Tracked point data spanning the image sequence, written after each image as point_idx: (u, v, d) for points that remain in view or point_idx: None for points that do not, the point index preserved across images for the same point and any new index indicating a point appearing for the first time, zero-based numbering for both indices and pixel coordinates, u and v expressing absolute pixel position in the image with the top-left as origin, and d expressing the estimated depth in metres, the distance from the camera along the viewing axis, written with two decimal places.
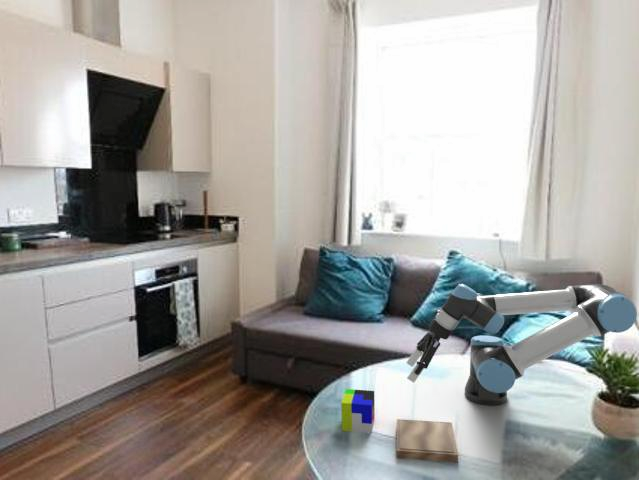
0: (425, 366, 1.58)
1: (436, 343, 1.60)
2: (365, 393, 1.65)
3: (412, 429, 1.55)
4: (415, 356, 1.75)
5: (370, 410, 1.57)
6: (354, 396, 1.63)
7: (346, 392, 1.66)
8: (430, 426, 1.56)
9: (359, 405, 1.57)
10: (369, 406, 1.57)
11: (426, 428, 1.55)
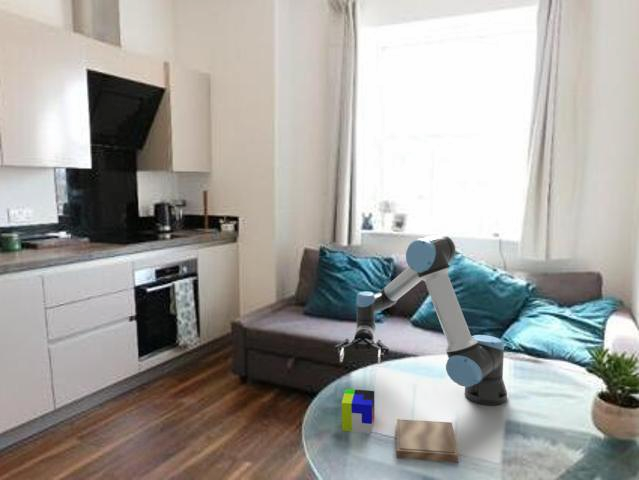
0: None
1: None
2: (365, 393, 1.65)
3: (412, 429, 1.55)
4: None
5: (370, 410, 1.57)
6: (354, 396, 1.63)
7: (346, 392, 1.66)
8: (430, 426, 1.56)
9: (359, 405, 1.57)
10: (369, 406, 1.57)
11: (426, 428, 1.55)
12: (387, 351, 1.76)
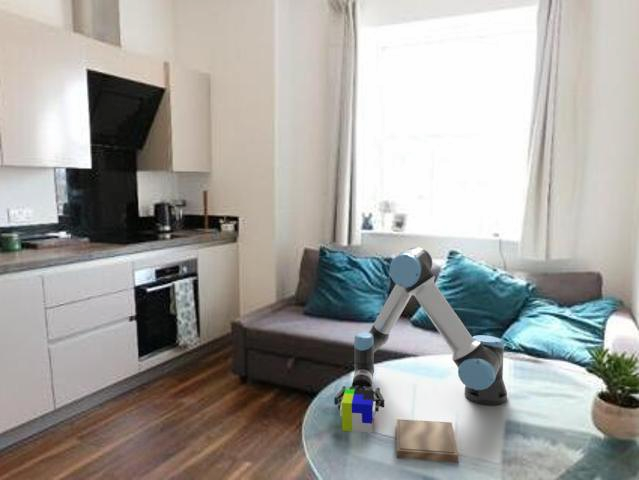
0: None
1: None
2: (365, 393, 1.65)
3: (412, 429, 1.55)
4: None
5: (370, 410, 1.57)
6: (354, 396, 1.63)
7: (346, 391, 1.66)
8: (430, 426, 1.56)
9: (360, 404, 1.57)
10: (369, 406, 1.57)
11: (426, 428, 1.55)
12: (382, 403, 1.65)
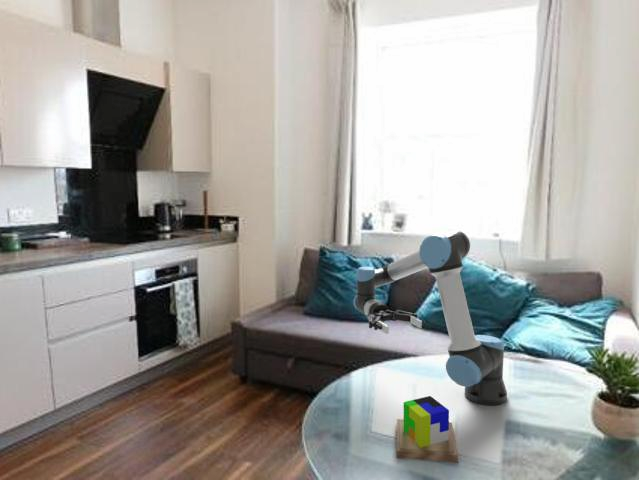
0: (369, 323, 1.74)
1: (367, 317, 1.83)
2: (427, 400, 1.53)
3: None
4: (414, 321, 1.76)
5: (447, 416, 1.47)
6: (421, 406, 1.49)
7: (408, 404, 1.50)
8: None
9: (438, 413, 1.45)
10: (447, 412, 1.47)
11: None
12: (416, 316, 1.80)
